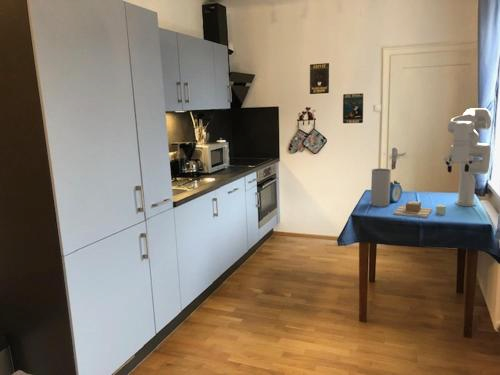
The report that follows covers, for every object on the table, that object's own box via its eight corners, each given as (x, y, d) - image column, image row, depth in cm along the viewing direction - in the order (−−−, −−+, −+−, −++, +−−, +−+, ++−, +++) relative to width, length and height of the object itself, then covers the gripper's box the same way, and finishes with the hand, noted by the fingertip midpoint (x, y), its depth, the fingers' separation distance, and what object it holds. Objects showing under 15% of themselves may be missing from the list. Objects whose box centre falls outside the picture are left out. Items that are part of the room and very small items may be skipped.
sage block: (437, 211, 267) (437, 204, 266) (445, 212, 264) (445, 205, 263) (435, 213, 263) (436, 206, 262) (444, 214, 260) (444, 207, 259)
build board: (400, 206, 281) (400, 197, 280) (431, 210, 271) (432, 200, 270) (393, 214, 265) (394, 204, 263) (426, 217, 254) (427, 207, 253)
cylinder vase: (384, 208, 280) (385, 172, 275) (367, 205, 288) (368, 170, 283) (392, 204, 289) (393, 169, 283) (375, 201, 297) (377, 167, 292)
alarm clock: (391, 203, 290) (392, 183, 287) (383, 202, 295) (384, 182, 292) (401, 200, 298) (402, 180, 294) (394, 199, 302) (395, 179, 299)
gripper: (472, 142, 244) (469, 170, 247) (442, 143, 245) (440, 171, 249) (478, 143, 236) (475, 172, 240) (447, 144, 238) (445, 173, 241)
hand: (457, 171), depth 244 cm, fingers open, 9 cm apart
